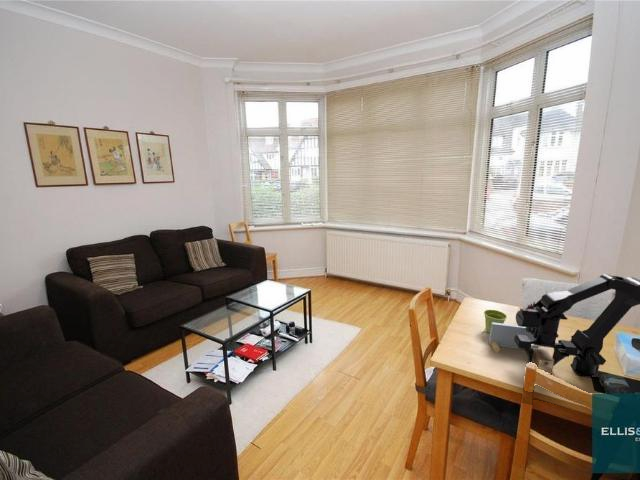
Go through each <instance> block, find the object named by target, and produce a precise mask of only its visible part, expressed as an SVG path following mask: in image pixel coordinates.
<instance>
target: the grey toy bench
mask: <svg viewBox="0 0 640 480" xmlns="http://www.w3.org/2000/svg"><path fill="white" fill-rule="evenodd" d="M517 334H518V335H526V336H527V337H528V338H529V340H536V338H534V337H533V334H531V332H527V331H526V327H520V326H518V325H517V324H509V323H504V324H502V323H494V322H492V325H491V331H490V333H489V339H488V344H489V345H491V346H492V349H493V353H499V352H500V347H503V348H511V349H519V350H522V349H521V348H519V347H518V346H517V344H516V342H515V341H514V337H515V336H516V335H517ZM539 347H540V346H532V348H537V349H539Z"/></svg>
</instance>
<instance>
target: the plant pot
mask: <svg viewBox="0 0 640 480" xmlns="http://www.w3.org/2000/svg"><path fill="white" fill-rule="evenodd" d="M483 314H484V317H485V318H484V319H485V320H484V321H485V323H484V324H485V331H486V332H487V333H488V334H490V331H491V325H492V322H494V323H502V324H505V321H506V320H507V319H508V316H507V314H506V313H504V312H502V311H500V310H497V309H486V310H483Z"/></svg>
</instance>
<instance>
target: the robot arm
mask: <svg viewBox="0 0 640 480" xmlns="http://www.w3.org/2000/svg"><path fill="white" fill-rule="evenodd" d="M610 290H615V292H614V298H613V300H611V302H610V303H609V304H608V305H607V306H606V307H605V309H604V310H603V311H602V312H600V314H599V315H598V317H596V319H595V320H594V321H593V323H592V324H591V325H590V326H589V327H588V328H587V329H585V330H580V329H579V328H578V329H577V330H576V331H575V333H574V334H573V335H571V336H570V338H571V339H570V340H564V339H559V337H560V336H559V334H558V332H559V326H560V322H561V320H563V321H564V320H565V321H567V320H568V317H567V316H565V314H564V313H566V312H567V311H569V310H571V309H572V307H573V306H574V305H576V304H577V303H580V302H582V301H584V300H587V299H590V298H592V297H595V296H598V295H601V294H602V293H605V292H607V291H610ZM532 305H533V304H532ZM638 305H640V279H638V278H636V277H633V276H632V277H631V276H627V277H622V276H618V275H611V274H607V273H604V274H601V275H600V276H598V277H596V278H594V279H592V280H589V281H586V282H583V283H581V284H579V285H577V286H574V287H572V288H570V289H566V290H563V291H561V290H559V291H551V292H548V293H545V294H543V295H542V296H541V299H539V300H538V301H537V302H535V304H534V305H533V306H532V308H533V309H526V308H523V307H520V308H519V310H518V311H517V312H516V314H515V322H516V325H518V326H520V327H526V331H527V332H531V334H533V337H534V338H536V340H529V338H528V337H527V336H526V335H518V334H517V335H516V336H515V337H514V341H515V342H516V344H517V346H518V347H519V348H521V349H520V350H524V351H525V352H526V356H527V360H528V363H529V362H531V361H532V358H533V353H534V350H533V349H532V346H539V347H541V348H547V349H548V348H549V349H553V353H552V356H551V357H552V358H553V360H554V365H553V367H555V365H557V364H558V363H560V361H562V360H564V359H565V358H567V357H568V358H569V357H570V356H573V358H572V362H571V363H570V366H571V367H572V369H573V370H574V371H575V373H576V374H577V375H578V376H579V377H580V376H581V377H588V378H593V377H592V375H594V374H595V373H597V374H598V372H599V369H600V366H604V365H605V363H606V362H607V360H606V359H605V357H604V356H602V354H601V352H602V350H603V348H604V340H605V337H607V336H608V335H609V334H610V332H611V331H612V330H613V329H614V327H615V326H617V324H618V323H620V321H621V320H622V318H624V316H625V315H626V314H627V313H629V311H630V310H631V308H633V307H636V306H638ZM546 310H547V311H546ZM557 338H558V341H557V342H556V339H557Z"/></svg>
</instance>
